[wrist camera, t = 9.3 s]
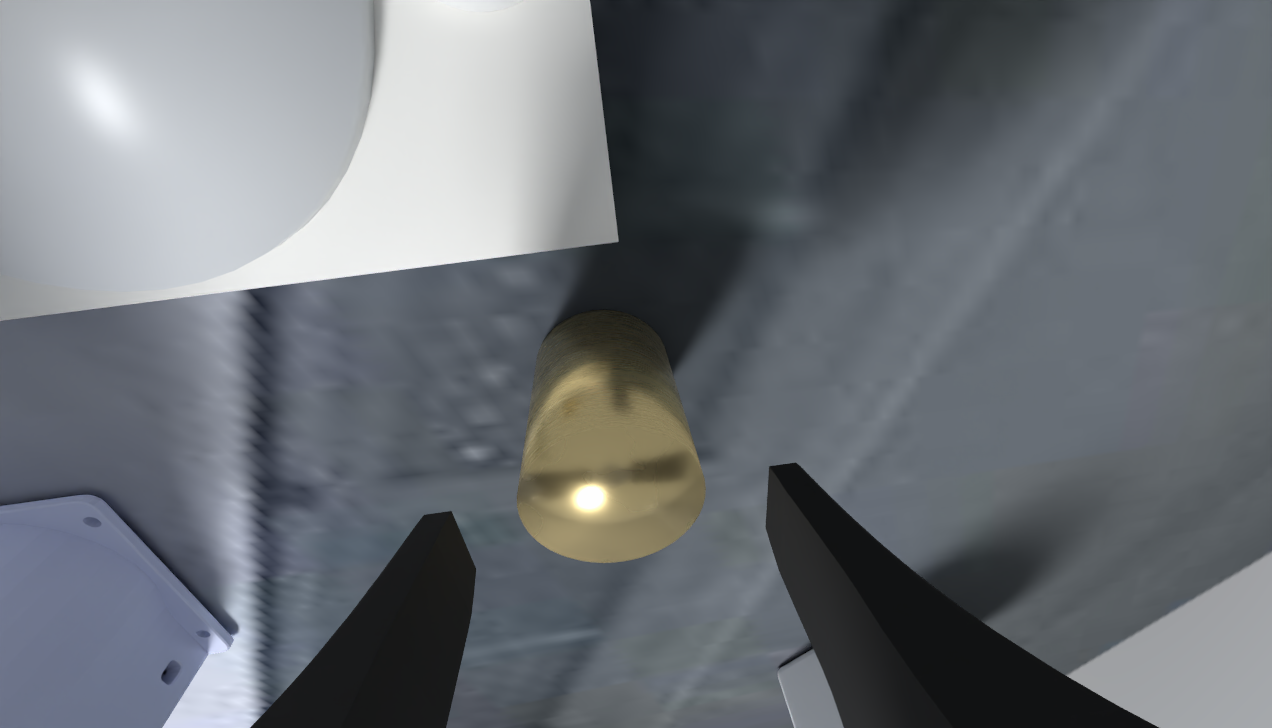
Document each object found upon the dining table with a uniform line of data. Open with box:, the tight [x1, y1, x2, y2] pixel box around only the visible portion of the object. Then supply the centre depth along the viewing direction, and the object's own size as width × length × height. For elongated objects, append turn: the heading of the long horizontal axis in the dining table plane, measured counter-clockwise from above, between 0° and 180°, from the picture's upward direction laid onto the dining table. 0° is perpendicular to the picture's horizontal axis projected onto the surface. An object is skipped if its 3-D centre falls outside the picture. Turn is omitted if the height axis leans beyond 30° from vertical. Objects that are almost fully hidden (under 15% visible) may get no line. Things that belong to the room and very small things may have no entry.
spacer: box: [517, 310, 706, 563], centre depth 14 cm, size 4×4×6 cm
